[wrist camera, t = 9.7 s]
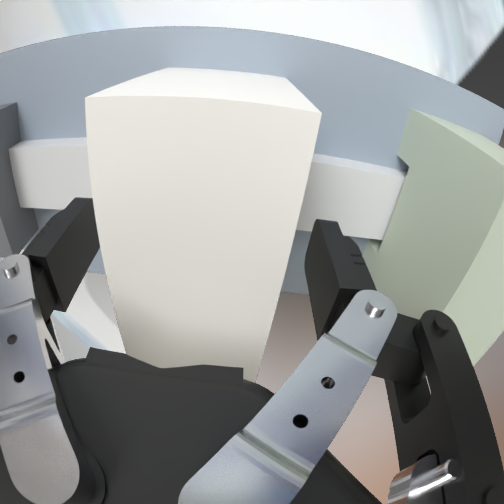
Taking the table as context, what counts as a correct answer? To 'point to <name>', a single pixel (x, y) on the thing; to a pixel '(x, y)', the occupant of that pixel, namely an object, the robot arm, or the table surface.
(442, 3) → the table surface
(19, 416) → the robot arm
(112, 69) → the mounting plate
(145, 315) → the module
